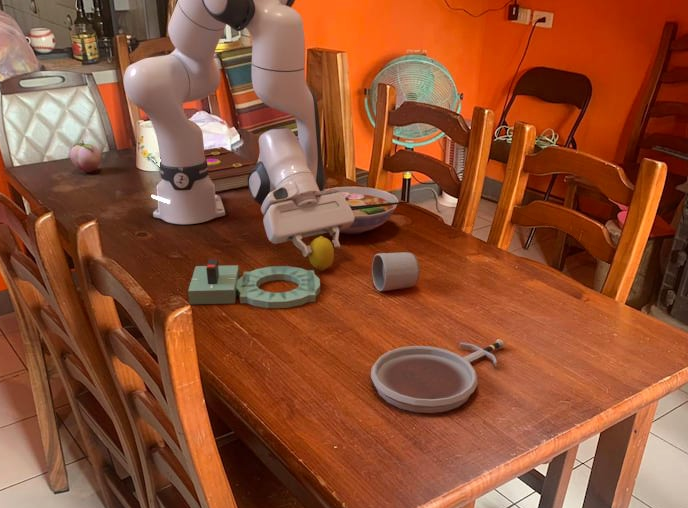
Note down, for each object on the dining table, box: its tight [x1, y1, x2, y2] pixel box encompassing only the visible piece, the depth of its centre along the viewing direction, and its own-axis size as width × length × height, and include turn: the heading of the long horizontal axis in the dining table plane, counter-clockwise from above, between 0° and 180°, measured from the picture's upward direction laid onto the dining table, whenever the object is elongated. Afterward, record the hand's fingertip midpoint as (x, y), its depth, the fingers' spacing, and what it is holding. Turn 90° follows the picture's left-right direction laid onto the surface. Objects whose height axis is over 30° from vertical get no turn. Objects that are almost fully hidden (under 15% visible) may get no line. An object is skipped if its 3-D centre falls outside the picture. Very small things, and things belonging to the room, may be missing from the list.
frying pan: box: [370, 338, 505, 414], centre depth 111 cm, size 17×3×28 cm
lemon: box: [308, 235, 335, 272], centre depth 145 cm, size 6×6×8 cm
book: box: [204, 146, 257, 194], centre depth 206 cm, size 23×32×5 cm
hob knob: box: [206, 259, 219, 284], centre depth 136 cm, size 4×2×4 cm, turn 3°
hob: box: [236, 265, 321, 309], centre depth 139 cm, size 17×17×2 cm
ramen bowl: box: [324, 186, 411, 235], centre depth 167 cm, size 25×23×8 cm
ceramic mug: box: [371, 251, 421, 292], centre depth 139 cm, size 11×8×8 cm
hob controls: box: [187, 264, 240, 305], centre depth 138 cm, size 12×9×3 cm
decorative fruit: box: [69, 139, 102, 174], centre depth 210 cm, size 9×8×10 cm
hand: (322, 252), depth 144 cm, fingers closed on lemon, 5 cm apart
